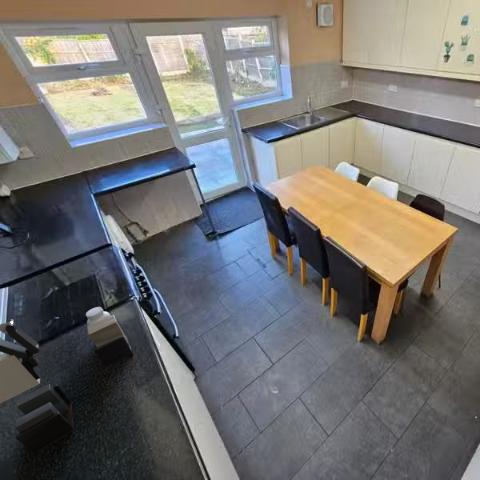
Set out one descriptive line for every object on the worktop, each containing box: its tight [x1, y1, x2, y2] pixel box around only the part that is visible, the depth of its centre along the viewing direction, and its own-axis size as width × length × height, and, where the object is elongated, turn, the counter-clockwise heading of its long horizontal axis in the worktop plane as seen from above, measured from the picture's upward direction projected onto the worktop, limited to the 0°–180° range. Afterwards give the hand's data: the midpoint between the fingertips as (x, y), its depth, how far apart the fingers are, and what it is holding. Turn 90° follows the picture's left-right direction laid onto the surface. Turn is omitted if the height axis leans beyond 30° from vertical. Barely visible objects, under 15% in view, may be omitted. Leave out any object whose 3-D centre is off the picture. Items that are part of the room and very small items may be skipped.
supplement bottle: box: [85, 306, 111, 326], centre depth 98 cm, size 7×7×13 cm
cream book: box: [0, 353, 41, 404], centre depth 63 cm, size 2×8×11 cm, turn 133°
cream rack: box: [86, 314, 134, 368], centre depth 92 cm, size 11×8×12 cm
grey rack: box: [14, 383, 75, 455], centre depth 72 cm, size 11×8×11 cm
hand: (15, 386), depth 65 cm, fingers closed on cream book, 8 cm apart
